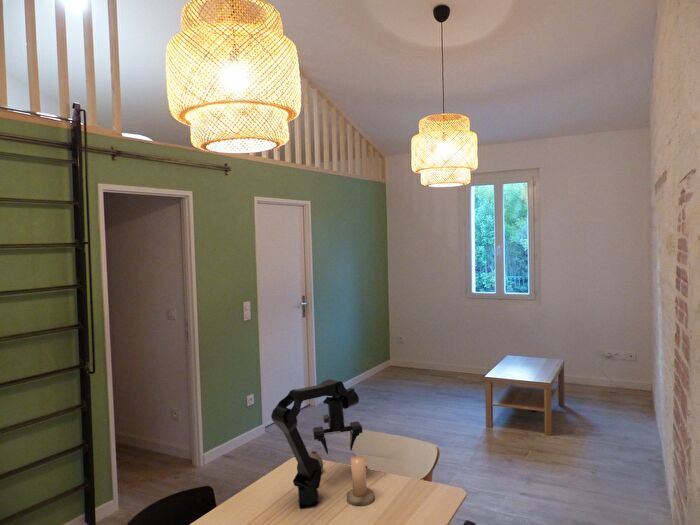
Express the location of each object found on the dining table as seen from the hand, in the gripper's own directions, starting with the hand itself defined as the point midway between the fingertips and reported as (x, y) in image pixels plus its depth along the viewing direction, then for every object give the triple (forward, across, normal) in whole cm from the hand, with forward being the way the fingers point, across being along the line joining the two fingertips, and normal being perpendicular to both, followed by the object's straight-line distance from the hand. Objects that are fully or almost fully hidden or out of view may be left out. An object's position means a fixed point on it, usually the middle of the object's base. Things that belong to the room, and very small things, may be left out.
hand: (339, 451), depth 201 cm
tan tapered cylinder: (+11, -5, +13) cm, 18 cm away
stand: (+13, -5, +13) cm, 19 cm away
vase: (+14, +9, -14) cm, 21 cm away
